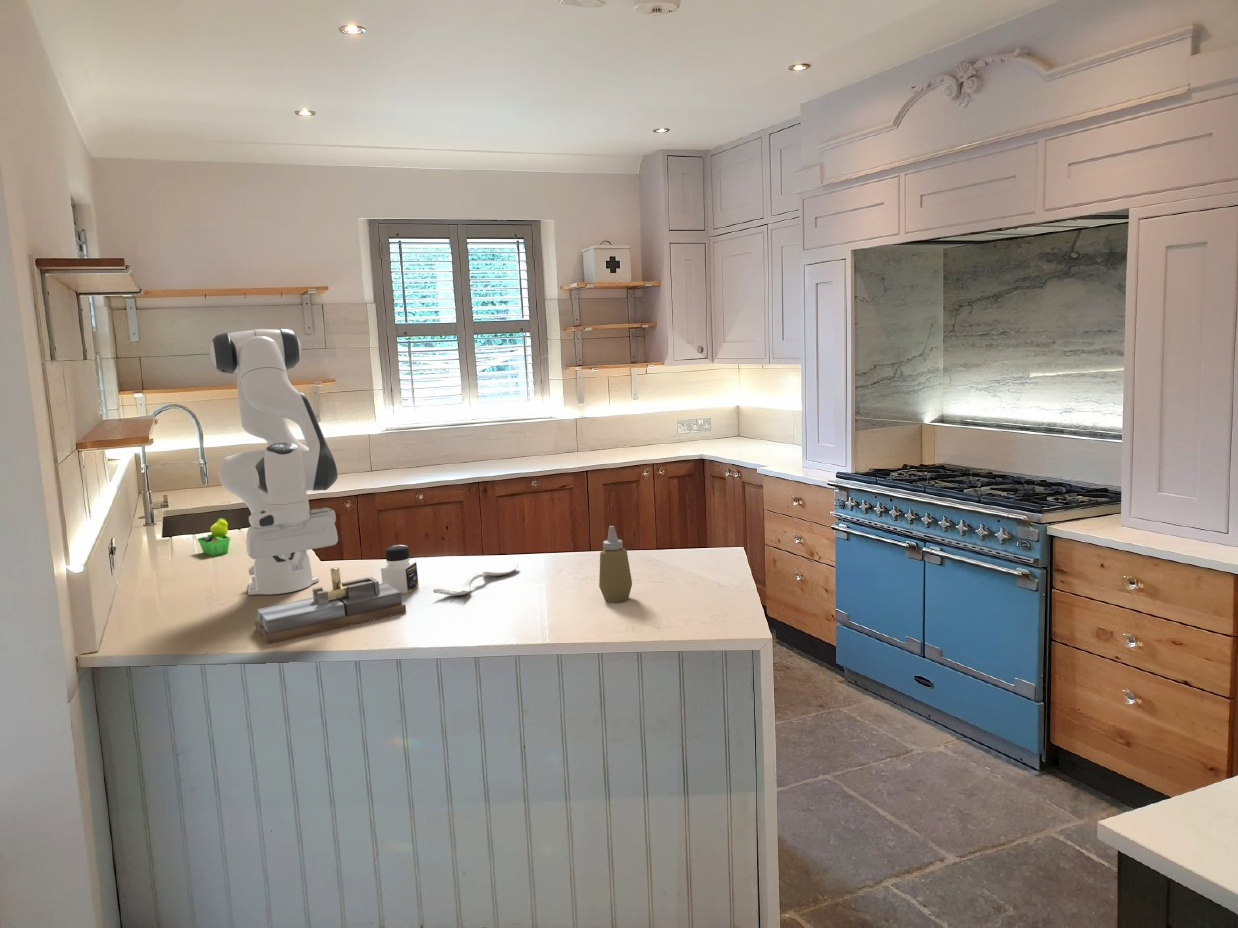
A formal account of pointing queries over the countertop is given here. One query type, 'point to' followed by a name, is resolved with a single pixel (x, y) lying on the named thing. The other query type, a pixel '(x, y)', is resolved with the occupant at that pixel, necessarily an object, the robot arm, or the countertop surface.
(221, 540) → the fruit basket
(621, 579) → the squeeze bottle
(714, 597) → the countertop surface
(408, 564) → the medicine bottle
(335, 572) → the bolt
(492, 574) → the white fork
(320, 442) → the robot arm
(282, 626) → the sliding barrel latch
